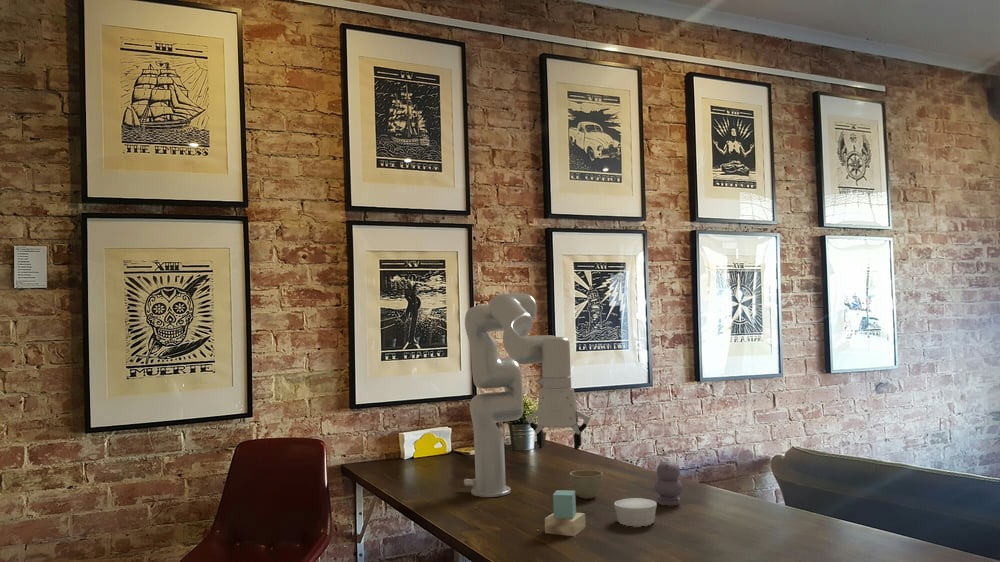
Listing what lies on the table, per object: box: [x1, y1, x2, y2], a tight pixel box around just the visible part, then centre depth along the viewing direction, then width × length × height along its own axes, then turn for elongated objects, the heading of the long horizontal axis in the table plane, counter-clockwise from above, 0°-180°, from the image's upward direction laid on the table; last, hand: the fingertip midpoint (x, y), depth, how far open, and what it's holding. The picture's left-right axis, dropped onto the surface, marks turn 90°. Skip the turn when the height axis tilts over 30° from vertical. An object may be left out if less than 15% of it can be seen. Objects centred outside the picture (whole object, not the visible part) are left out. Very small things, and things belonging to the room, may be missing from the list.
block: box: [552, 489, 577, 519], centre depth 193 cm, size 5×5×6 cm
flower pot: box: [569, 469, 604, 499], centre depth 227 cm, size 10×10×7 cm
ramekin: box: [613, 497, 658, 528], centre depth 197 cm, size 11×11×5 cm
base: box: [544, 512, 587, 537], centre depth 193 cm, size 8×8×4 cm
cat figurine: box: [654, 459, 683, 507], centre depth 216 cm, size 8×8×12 cm
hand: (559, 448), depth 197 cm, fingers open, 9 cm apart
